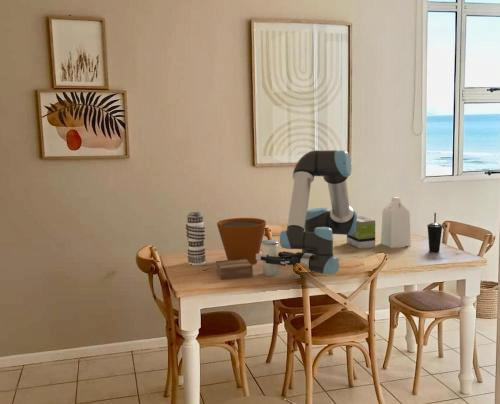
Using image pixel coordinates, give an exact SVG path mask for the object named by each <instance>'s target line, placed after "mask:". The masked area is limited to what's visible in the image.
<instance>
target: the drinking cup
mask: <svg viewBox="0 0 500 404" xmlns="http://www.w3.org/2000/svg"><path fill="white" fill-rule="evenodd" d="M436 215H437V213H436V212H434V215H433V216H434V220H433V222H431V223H429V224H427V225H426V226H427V237H428V251H429V253H434V254H436V253H440V247H441V242H442V241H441V238H442V233H443V227H444V225H443V224H441V223H438V222H437V218H436V217H437V216H436Z"/></svg>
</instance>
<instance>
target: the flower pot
mask: <svg viewBox="0 0 500 404" xmlns="http://www.w3.org/2000/svg"><path fill="white" fill-rule="evenodd" d="M266 225H267V221H266V220H264V219H261V218H258V217H256V218H255V217H238V218H237V217H236V218H235V217H234V218H233V217H232V218H225V219H222V220H218V222H216V226H217V228H218V232H219V235H220V239H221V243H222V246H223V249H224V252H225V256H226V260H237V259H247V260H248V262H249V263H250V264H251V265H252V266H254V265H256V264H257V263H258V261H259V260H256V254H260V253H261V252H260V251H261V247H262V241H263V237H264V233H265V228H266Z"/></svg>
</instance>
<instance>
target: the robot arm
mask: <svg viewBox="0 0 500 404" xmlns="http://www.w3.org/2000/svg"><path fill="white" fill-rule="evenodd" d="M351 174H352V160H351V156H350V154H349V152H348V151H347V150H341V149H336V150H335V149H334V150H328V149H327V150H311V151H308V152H307V153H305V154H304V155H303V156H302V157H301V158H299V160H298V161H297V162H296V164H295V166H294V169H293V172H292V180H293V188H292V193H291V200H290V206H289V213H288V219H287V225H286V230H282V231H280V234H279V245H280V247H281V248H282V249H287V250H301V251H297V252H290V251H284V250H283V251H278V257H274V256H269V255H263V253H259V254H256V260H258V261H262V262H263V261H266V263H268V264H276V265H278V266H282V267H284V266H285V267H286V265H287V266H292V267H293V268H294V265H295V264H296V263H304V265H305V266H306V268H307V269H309V270H310V271H312V272H313V273H317V274H322V275H330V276H333V275H336V274H337V273H338V271H339V268H340V261H339V258H338V257H337V256H334V248H333V247H334V235H344V236H347V235H351V234H354V233H355V231H356V223H357V217H358V212H357V211H354V210H353V207H351V206H350V199H349V192H348V185H347V180H348V178H349V177H350V176H351ZM315 177H322V178H323V180H324V182H326V183H327V186H328V194H329V198H330V203H331V209H330V210H329V209H328V208H327V207H316V208H311V209H308V208H309V206H308V205H309V199H310V193H311V187H312V186H311V184H312V182H314V180H315ZM308 262H309V267H308ZM312 272H311V273H312Z"/></svg>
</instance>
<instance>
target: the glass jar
mask: <svg viewBox="0 0 500 404" xmlns="http://www.w3.org/2000/svg"><path fill="white" fill-rule="evenodd" d="M261 247H262V254H263V255H269V256H274V257H278V252H279V240H275V239H265V240H262V243H261ZM279 273H280V272H279V265H276V264H268V263H266V261H262V275H263V276H266V277H274V276H278V275H279Z"/></svg>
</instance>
